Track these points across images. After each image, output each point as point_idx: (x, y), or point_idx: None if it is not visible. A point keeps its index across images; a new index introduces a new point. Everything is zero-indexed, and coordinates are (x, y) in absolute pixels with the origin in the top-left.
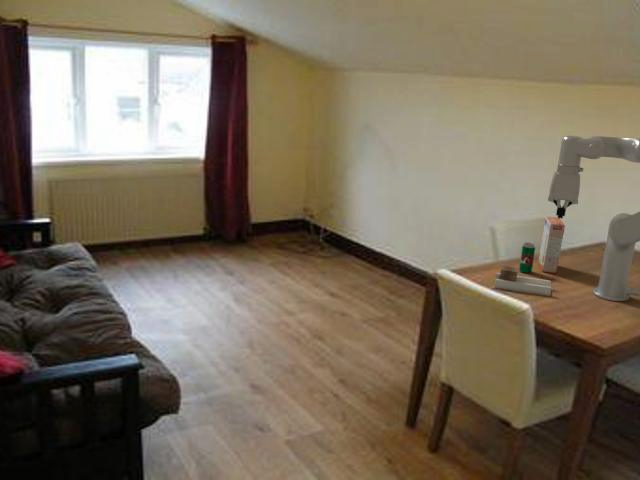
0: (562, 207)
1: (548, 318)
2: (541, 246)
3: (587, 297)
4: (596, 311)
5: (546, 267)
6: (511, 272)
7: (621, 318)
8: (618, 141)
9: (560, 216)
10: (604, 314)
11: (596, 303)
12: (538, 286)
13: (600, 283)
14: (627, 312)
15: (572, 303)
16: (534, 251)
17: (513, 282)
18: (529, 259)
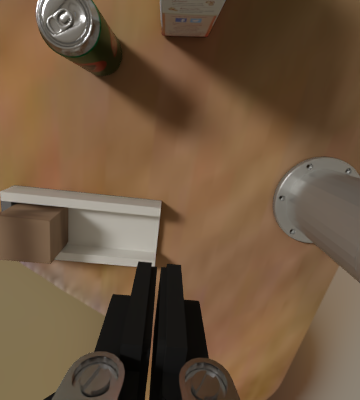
0: (160, 390)
1: None
2: None
3: (248, 233)
4: (242, 312)
5: (172, 31)
6: (34, 260)
7: (283, 331)
8: None
9: (157, 304)
10: (254, 322)
11: (258, 266)
12: (122, 265)
13: (297, 219)
14: (310, 296)
15: (201, 284)
16: (102, 44)
17: (55, 259)
18: (94, 67)
